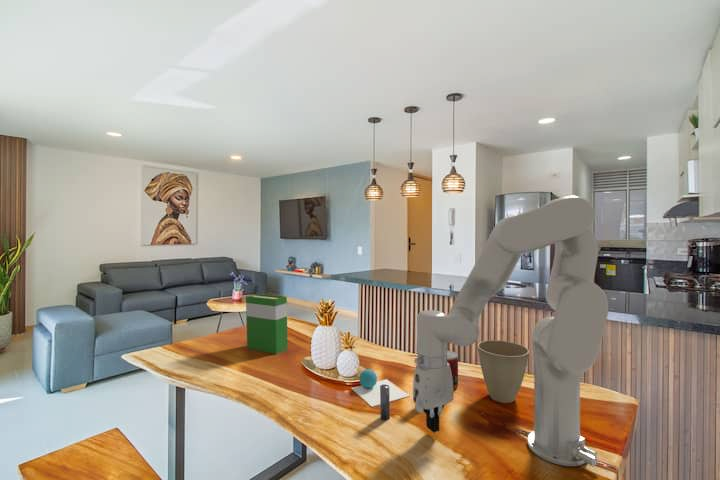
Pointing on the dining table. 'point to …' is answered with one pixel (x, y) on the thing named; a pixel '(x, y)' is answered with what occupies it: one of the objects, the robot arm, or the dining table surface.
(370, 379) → the teal sphere
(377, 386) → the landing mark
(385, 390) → the left post
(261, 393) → the dining table surface
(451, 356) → the canned food
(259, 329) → the green cereal box
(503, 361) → the plant pot
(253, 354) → the dining table surface
